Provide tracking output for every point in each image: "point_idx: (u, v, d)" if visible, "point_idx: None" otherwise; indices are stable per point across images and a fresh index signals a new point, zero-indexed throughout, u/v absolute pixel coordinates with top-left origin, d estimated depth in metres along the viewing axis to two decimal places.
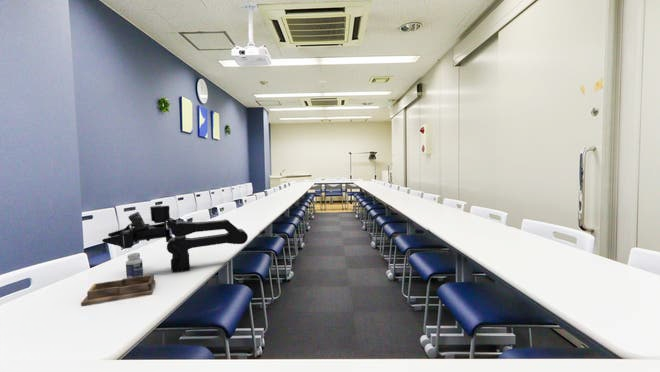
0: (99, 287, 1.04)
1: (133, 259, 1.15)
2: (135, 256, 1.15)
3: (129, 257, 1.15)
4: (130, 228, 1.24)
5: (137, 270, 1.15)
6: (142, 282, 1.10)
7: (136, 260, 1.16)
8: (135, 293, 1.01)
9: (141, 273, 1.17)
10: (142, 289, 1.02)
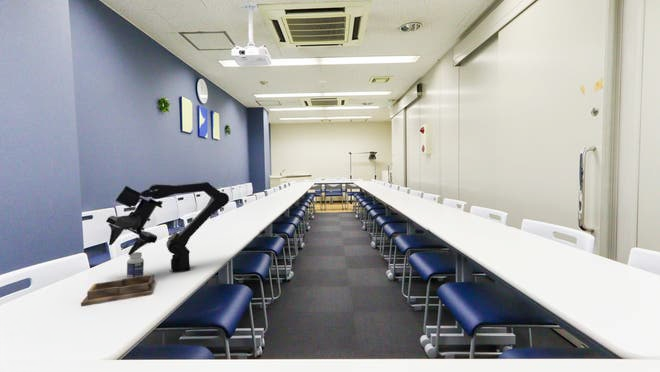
0: (99, 287, 1.04)
1: (135, 258, 1.16)
2: (137, 255, 1.16)
3: (131, 256, 1.15)
4: (116, 225, 1.16)
5: (138, 269, 1.16)
6: (142, 282, 1.10)
7: (138, 259, 1.16)
8: (135, 293, 1.01)
9: (141, 273, 1.17)
10: (142, 289, 1.02)
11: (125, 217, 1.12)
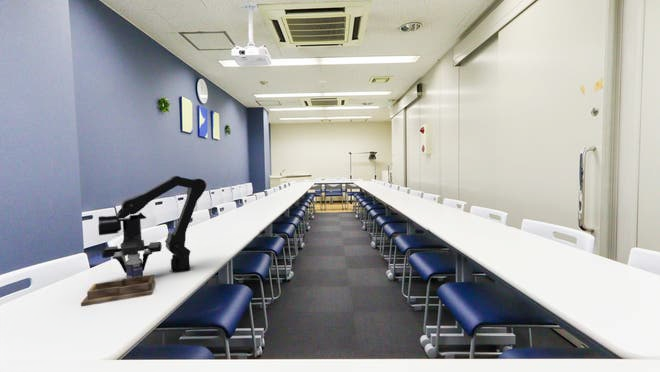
0: (99, 287, 1.04)
1: (133, 259, 1.15)
2: (135, 256, 1.15)
3: (129, 257, 1.15)
4: (121, 254, 1.14)
5: (136, 270, 1.15)
6: (142, 282, 1.10)
7: (136, 260, 1.16)
8: (135, 293, 1.01)
9: (141, 273, 1.17)
10: (142, 289, 1.02)
11: (126, 244, 1.10)
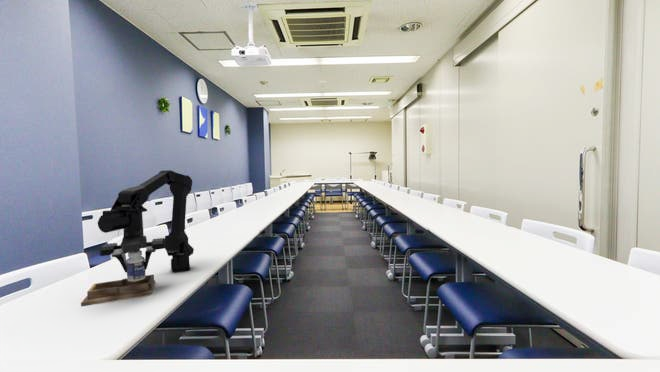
0: (99, 287, 1.04)
1: (134, 257, 1.03)
2: (136, 254, 1.04)
3: (130, 255, 1.03)
4: (120, 252, 1.02)
5: (138, 270, 1.04)
6: (142, 282, 1.10)
7: (137, 258, 1.04)
8: (135, 293, 1.01)
9: (143, 273, 1.05)
10: (142, 289, 1.02)
11: (127, 240, 0.99)
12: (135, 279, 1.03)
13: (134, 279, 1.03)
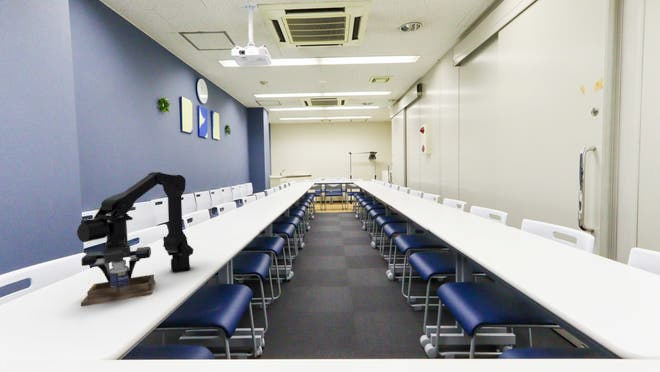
0: (99, 287, 1.04)
1: (117, 267, 1.01)
2: (120, 263, 1.02)
3: (113, 264, 1.01)
4: (103, 261, 1.00)
5: (122, 279, 1.02)
6: (142, 282, 1.10)
7: (121, 268, 1.02)
8: (135, 293, 1.01)
9: (127, 283, 1.03)
10: (142, 289, 1.02)
11: (109, 250, 0.97)
12: None
13: None
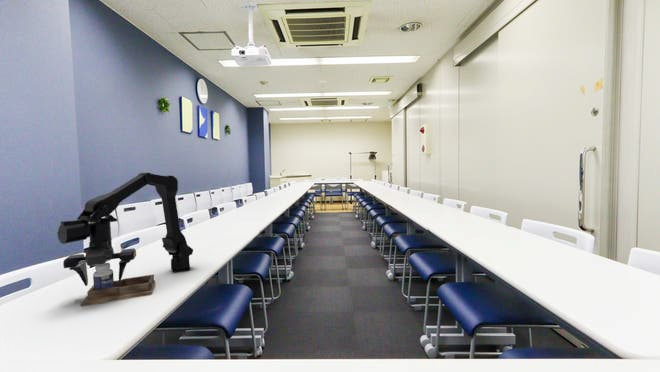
0: None
1: (101, 270, 1.00)
2: (104, 267, 1.00)
3: (96, 268, 0.99)
4: (80, 264, 0.97)
5: (106, 283, 1.00)
6: (142, 282, 1.10)
7: (105, 271, 1.00)
8: (135, 293, 1.01)
9: (111, 286, 1.01)
10: (142, 289, 1.02)
11: (92, 252, 0.95)
12: None
13: None
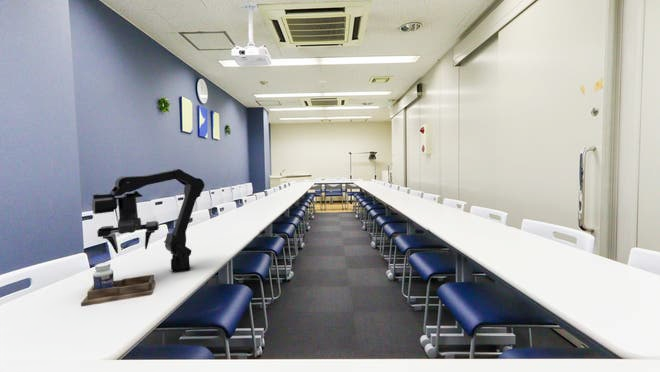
0: None
1: (101, 270, 1.00)
2: (104, 267, 1.00)
3: (97, 268, 0.99)
4: (111, 234, 1.10)
5: (106, 283, 1.00)
6: (142, 282, 1.10)
7: (105, 271, 1.00)
8: (135, 293, 1.01)
9: (111, 286, 1.01)
10: (142, 289, 1.02)
11: (123, 222, 1.08)
12: None
13: None
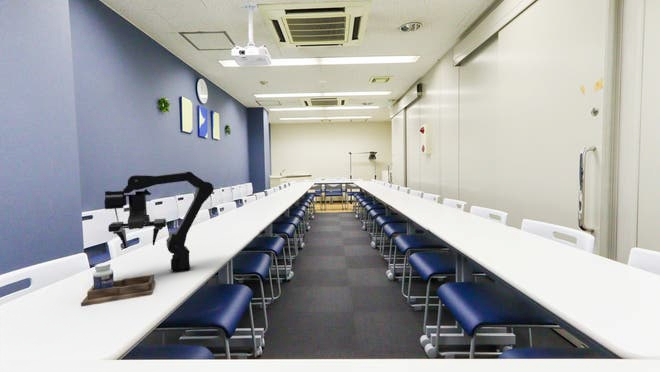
0: None
1: (101, 270, 1.00)
2: (104, 267, 1.00)
3: (97, 268, 0.99)
4: (121, 230, 1.15)
5: (106, 283, 1.00)
6: (142, 282, 1.10)
7: (105, 271, 1.00)
8: (135, 293, 1.01)
9: (111, 286, 1.01)
10: (142, 289, 1.02)
11: (132, 218, 1.13)
12: None
13: None
